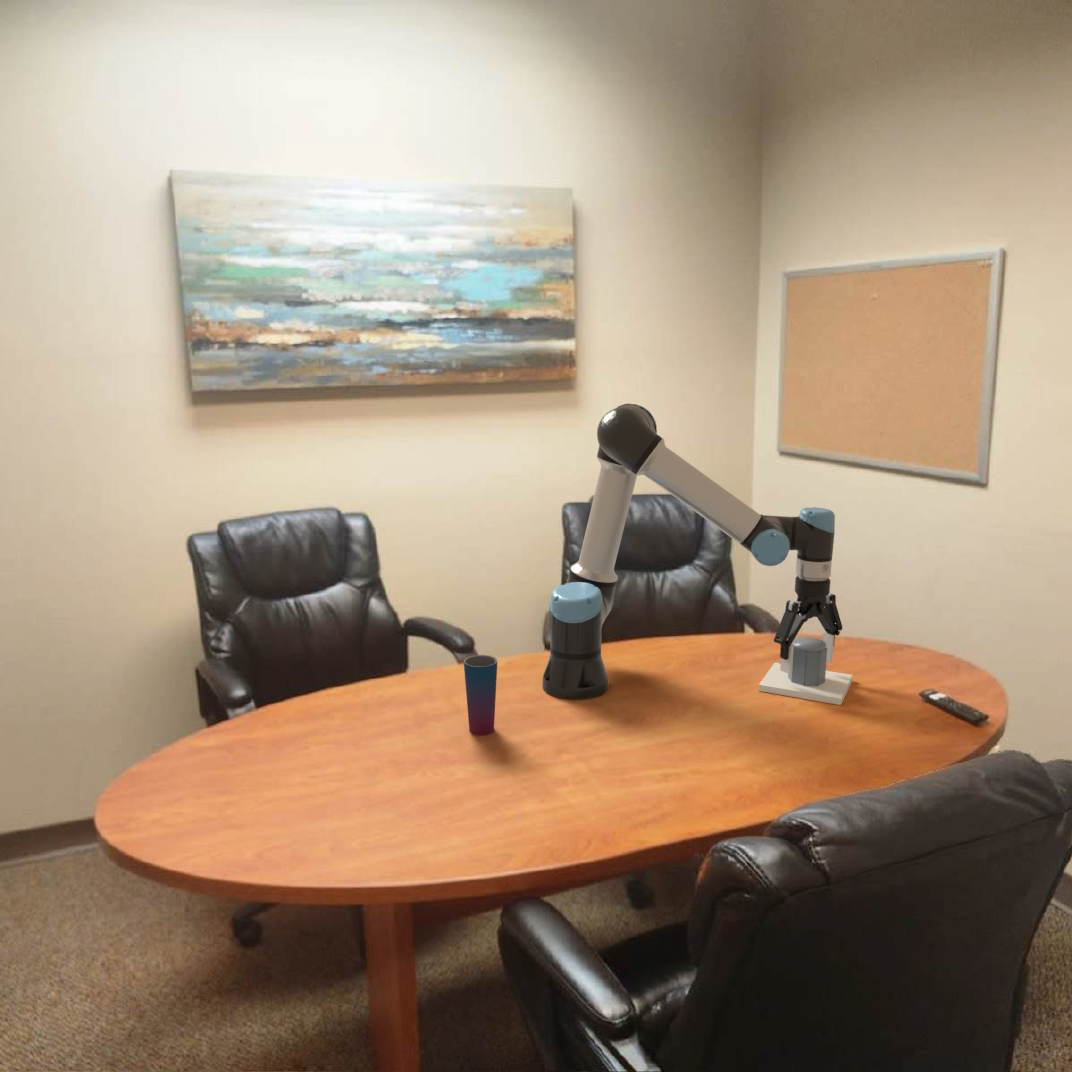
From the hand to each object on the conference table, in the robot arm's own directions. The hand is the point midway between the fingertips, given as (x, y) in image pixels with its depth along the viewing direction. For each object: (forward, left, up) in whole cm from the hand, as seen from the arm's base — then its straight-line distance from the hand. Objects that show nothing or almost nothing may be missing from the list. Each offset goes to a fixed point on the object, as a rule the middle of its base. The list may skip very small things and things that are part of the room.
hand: (806, 666), depth 203 cm
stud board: (0, 0, -5) cm, 5 cm away
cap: (0, 0, -3) cm, 3 cm away
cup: (-54, -55, -5) cm, 77 cm away
